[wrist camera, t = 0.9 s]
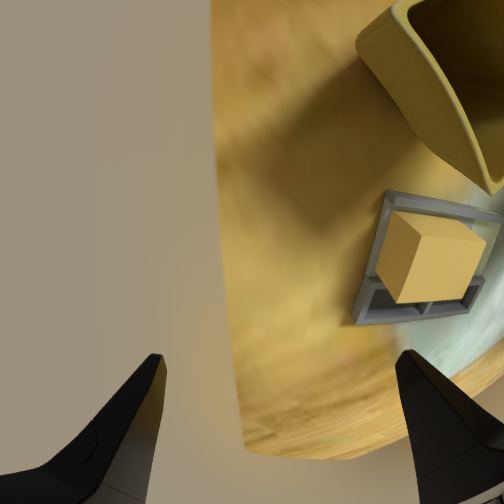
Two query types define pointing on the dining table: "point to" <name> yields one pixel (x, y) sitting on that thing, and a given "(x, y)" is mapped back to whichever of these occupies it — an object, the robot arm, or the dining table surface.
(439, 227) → the ochre block
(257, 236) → the dining table surface
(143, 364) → the robot arm
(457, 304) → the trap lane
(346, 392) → the dining table surface
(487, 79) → the flower pot
